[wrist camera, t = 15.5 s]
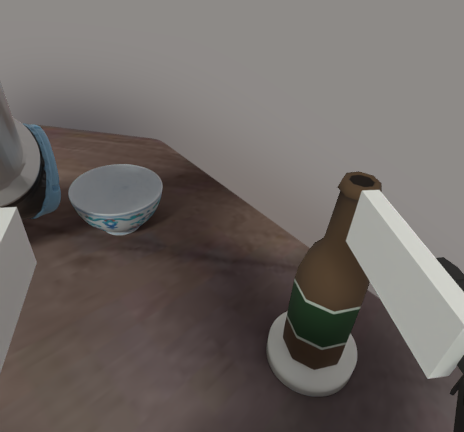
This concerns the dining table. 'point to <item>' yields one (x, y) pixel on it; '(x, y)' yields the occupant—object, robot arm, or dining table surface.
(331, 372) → the plinth
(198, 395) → the dining table surface
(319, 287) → the beer bottle
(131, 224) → the chinaware
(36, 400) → the dining table surface
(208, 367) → the dining table surface
